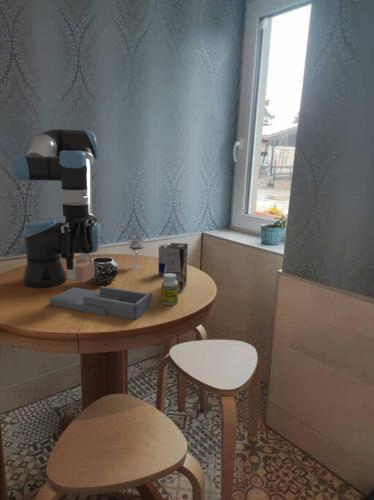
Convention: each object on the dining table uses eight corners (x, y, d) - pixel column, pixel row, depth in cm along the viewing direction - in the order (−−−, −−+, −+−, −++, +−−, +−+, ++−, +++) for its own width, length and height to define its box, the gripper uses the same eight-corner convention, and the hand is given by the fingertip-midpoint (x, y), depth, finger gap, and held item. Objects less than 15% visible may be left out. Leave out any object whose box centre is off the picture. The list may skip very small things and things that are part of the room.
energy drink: (158, 272, 148) (158, 244, 145) (171, 272, 149) (171, 244, 146) (158, 276, 143) (158, 247, 140) (171, 276, 143) (172, 247, 140)
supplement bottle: (176, 299, 120) (176, 271, 118) (179, 305, 115) (179, 277, 113) (160, 299, 119) (160, 272, 116) (162, 306, 114) (163, 277, 111)
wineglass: (136, 264, 159) (136, 238, 156) (147, 267, 155) (147, 240, 152) (125, 267, 153) (125, 240, 150) (136, 270, 150) (136, 243, 147)
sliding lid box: (49, 305, 112) (48, 291, 111) (73, 292, 123) (72, 280, 122) (134, 321, 102) (134, 306, 101) (152, 306, 114) (152, 292, 112)
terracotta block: (67, 279, 112) (66, 264, 110) (79, 274, 117) (78, 259, 116) (83, 282, 110) (82, 267, 108) (94, 276, 115) (94, 262, 114)
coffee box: (182, 292, 126) (183, 248, 122) (164, 291, 127) (165, 247, 123) (187, 284, 134) (188, 243, 130) (170, 283, 136) (171, 242, 132)
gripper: (65, 208, 98) (69, 286, 104) (103, 200, 115) (105, 268, 121) (43, 206, 100) (48, 283, 106) (83, 199, 117) (86, 265, 123)
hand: (78, 275), depth 113 cm, fingers closed on terracotta block, 6 cm apart
